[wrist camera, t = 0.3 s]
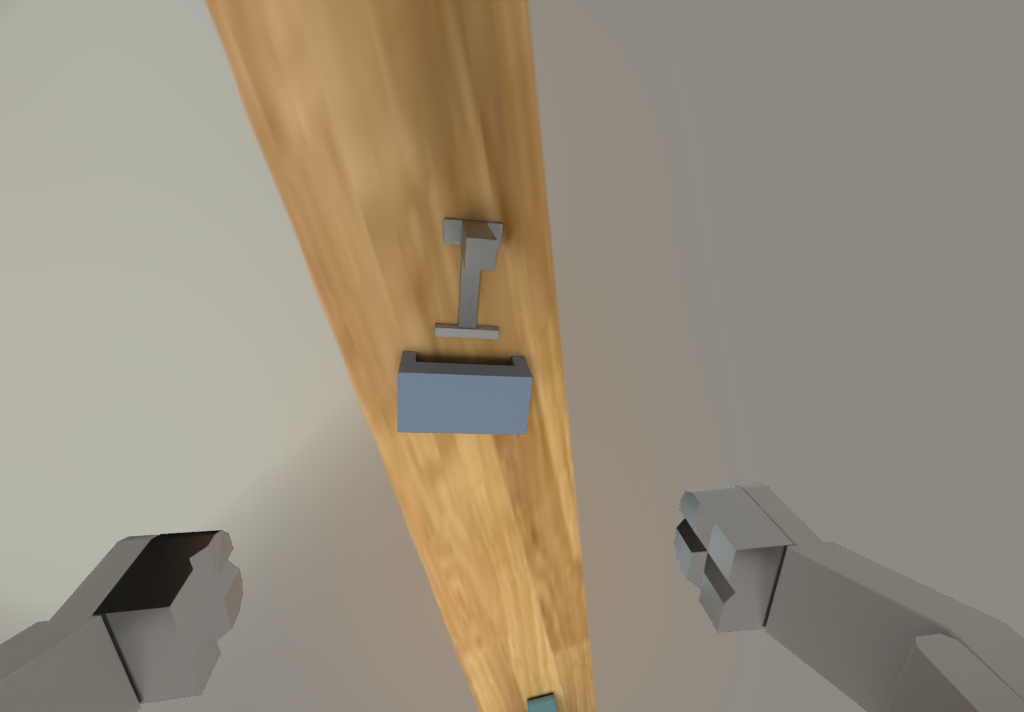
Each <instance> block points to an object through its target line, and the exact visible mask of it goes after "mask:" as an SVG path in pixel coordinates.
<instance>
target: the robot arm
mask: <svg viewBox="0 0 1024 712" xmlns="http://www.w3.org/2000/svg"><path fill="white" fill-rule="evenodd" d="M679 509H680V511H681V512H682V514H683V515H684V517H685V519H684V520H683V521H682V522H681V523H680V524H679V525H678V526H677V528H676V536H675V548H676V555H677V559H678V562H679V564H680V567H681V570H682V571H683V573H684V575H685V576H686V579H687V580H688V581H690V582H691V583H693V584H694V585H696V586H697V587H699V588H701V591H700V597H699V601H700V603H701V605H702V606H703V608H704V610H705V612H706V613H707V615H708V617H709V618H710V620H711V622H712V623H713V625H714V627H715V629H716V630H717V632H731V631H742V630H753V629H764V628H765V632H767V633H768V634H769V635H770V636H772V637H773V638H774V639H775V640H777V641H778V642H780V643H781V644H782V645H783V646H784V647H786V648H787V649H788V650H790V651H791V652H792V653H793V654H795V655H796V656H797V657H798V658H800V659H801V660H802V661H803V662H805V663H806V664H807V665H809V666H810V667H811V668H812V669H814V670H815V671H816V672H817V673H819V674H820V675H821V676H823V677H824V678H825V679H827V680H828V681H829V682H830V683H831V684H833V685H834V686H835V687H837V688H838V689H839V690H840V691H842V692H843V693H844V694H846V695H847V696H848V697H849V698H851V699H852V700H853V701H854V702H856V703H857V704H858V705H859V706H861V707H862V708H863V709H865V710H866V711H867V712H1024V638H1023V637H1022V636H1020V635H1019V634H1018V633H1017V632H1016V631H1014V630H1013V629H1012V628H1011V627H1009V626H1008V625H1007V624H1006V623H1004V622H1002V621H1000V620H998V619H995V618H993V617H991V616H989V615H987V614H985V613H983V612H981V611H978V610H976V609H974V608H972V607H969V606H967V605H966V604H963V603H961V602H959V601H957V600H955V599H953V598H951V597H948V596H947V595H944V594H942V593H940V592H938V591H936V590H934V589H932V588H930V587H927V586H925V585H923V584H921V583H919V582H917V581H915V580H912V579H910V578H908V577H906V576H904V575H902V574H899V573H898V572H895V571H893V570H891V569H889V568H886V567H885V566H883V565H880V564H878V563H876V562H874V561H872V560H870V559H868V558H866V557H864V556H861V555H859V554H857V553H855V552H853V551H851V550H849V549H846V548H844V547H842V546H840V545H838V544H836V543H834V542H823V541H822V540H821V539H820V538H819V537H818V536H817V535H816V534H815V533H814V532H813V531H812V530H811V529H810V528H809V527H808V526H807V525H806V524H805V523H804V522H803V521H802V520H801V519H800V518H799V517H798V516H797V515H796V514H795V513H794V512H793V511H792V510H791V509H790V508H789V507H788V506H787V505H786V504H785V503H784V502H783V501H782V500H781V499H780V498H779V497H778V496H777V495H776V494H775V493H774V492H773V491H772V490H771V489H770V488H769V487H768V486H766V485H764V484H762V483H756V484H748V485H738V486H735V487H724V488H714V489H703V490H691V491H685V492H684V494H683V495H682V497H681V501H680V507H679ZM232 551H233V545H232V542H231V539H230V536H229V533H227V532H225V531H223V530H216V531H201V532H186V533H185V532H184V533H168V534H160V535H144V536H131V537H127V538H125V539H122V540H120V541H119V542H117V543H116V544H115V546H114V547H113V548H112V549H111V550H110V551H109V552H108V554H107V555H106V556H105V557H104V558H103V559H102V561H101V562H100V563H99V564H98V565H97V566H96V567H95V569H94V570H93V571H92V572H91V573H90V574H89V575H88V577H87V578H86V579H85V580H84V581H83V582H82V584H81V585H80V586H79V587H78V588H77V589H76V590H75V592H74V593H73V594H72V595H71V596H70V598H69V599H68V600H67V601H66V602H65V603H64V604H63V605H62V607H61V608H60V609H59V610H58V611H57V612H56V614H55V615H54V616H53V617H52V618H51V619H50V621H43V622H37V623H35V624H33V625H32V626H30V627H28V628H27V629H25V630H24V631H22V632H20V633H19V634H17V635H16V636H14V637H12V638H11V639H9V640H7V641H5V642H4V643H2V644H1V645H0V712H137V710H138V709H140V704H144V703H151V702H157V701H164V700H170V699H177V698H183V697H191V696H197V695H202V693H203V690H204V689H205V687H206V684H207V682H208V680H209V678H210V676H211V674H212V671H213V669H214V667H215V665H216V663H217V661H218V658H219V656H220V654H221V653H220V650H219V646H218V643H217V641H218V640H219V639H220V638H222V637H223V636H224V635H225V634H226V633H227V632H229V631H230V630H231V629H232V628H233V626H234V623H235V621H236V618H237V616H238V614H239V611H240V605H241V601H242V595H243V586H242V577H241V573H240V569H239V568H238V567H236V566H235V565H234V564H232V563H231V562H230V561H228V558H229V556H230V554H231V552H232Z"/></svg>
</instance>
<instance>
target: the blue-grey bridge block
mask: <svg viewBox="0 0 1024 712" xmlns="http://www.w3.org/2000/svg"><path fill="white" fill-rule="evenodd" d="M416 353H417V352H409V351H403V354H402V358H401V363H400V367H399V372H398V432H411V433H463V434H516V435H526V430H527V421H528V413H529V405H530V397H531V388H532V380H533V377H532V374H531V372H530V369H529V367H528V364H527V362H526V359H525V357H523V356H512V360H511V366H504V365H479V364H455V363H430V362H416Z"/></svg>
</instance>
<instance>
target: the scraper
mask: <svg viewBox="0 0 1024 712" xmlns="http://www.w3.org/2000/svg"><path fill="white" fill-rule="evenodd" d="M502 231H503V223H497V222H485V221H473V220H462V219H450V218H445V223H444V244H450V245H461V251H462V263H461V281H460V298H459V315H458V325H455V324H436V323H435V336H437V337H458V338H479V339H498V335H499V330H498V327H493V326H476V323H477V310H478V296H479V282H480V270H487V271H495V266H496V255H497V248H501V243H502Z"/></svg>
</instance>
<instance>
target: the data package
mask: <svg viewBox="0 0 1024 712" xmlns="http://www.w3.org/2000/svg"><path fill="white" fill-rule="evenodd" d="M528 711H529V712H558V710H557V705H556V701H555V697H554V695H549V696H545V697H541V698H537V699H533V700H529V701H528Z"/></svg>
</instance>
